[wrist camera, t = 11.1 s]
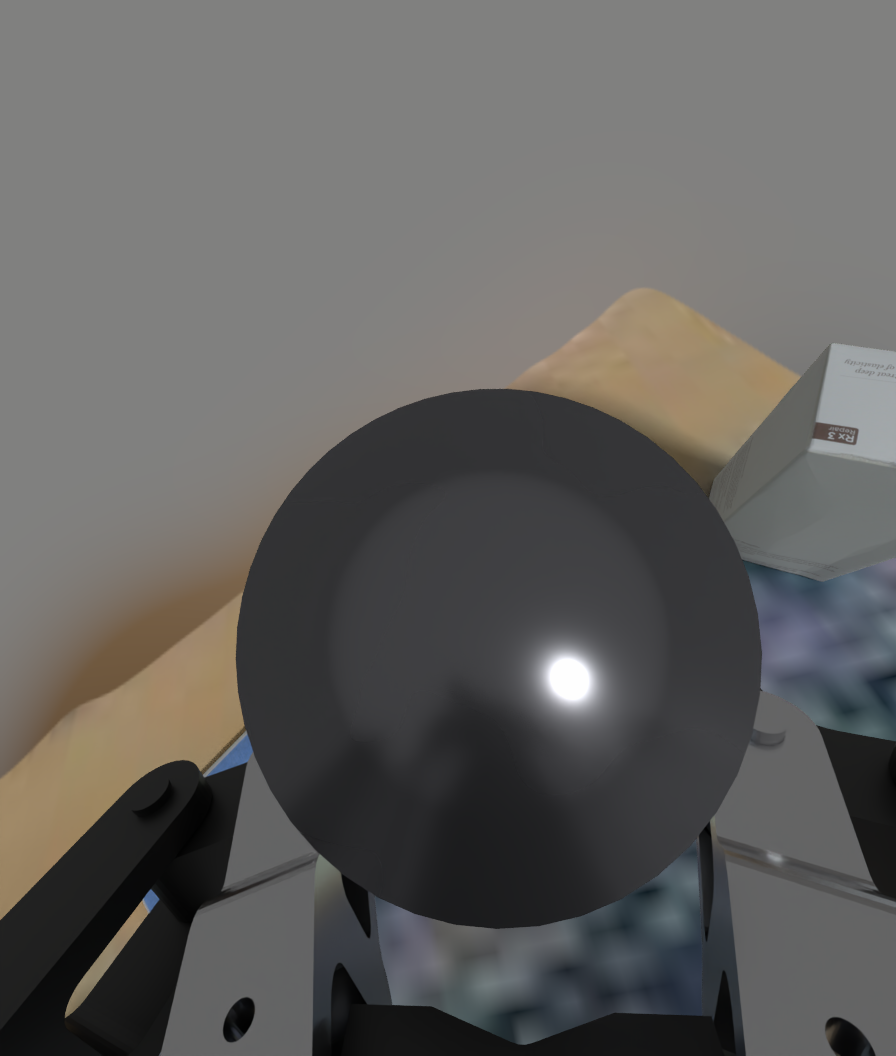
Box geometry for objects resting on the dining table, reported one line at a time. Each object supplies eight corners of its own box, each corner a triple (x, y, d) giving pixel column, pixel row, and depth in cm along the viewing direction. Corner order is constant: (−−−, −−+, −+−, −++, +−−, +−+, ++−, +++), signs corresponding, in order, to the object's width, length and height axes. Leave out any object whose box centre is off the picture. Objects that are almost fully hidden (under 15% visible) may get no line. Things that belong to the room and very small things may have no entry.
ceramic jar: (452, 741, 14) (179, 953, 3) (442, 596, 16) (244, 415, 5) (603, 734, 14) (914, 978, 3) (577, 582, 15) (692, 334, 4)
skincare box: (834, 509, 30) (1093, 366, 16) (820, 588, 28) (1092, 505, 15) (705, 477, 32) (835, 329, 18) (687, 549, 31) (812, 446, 17)
